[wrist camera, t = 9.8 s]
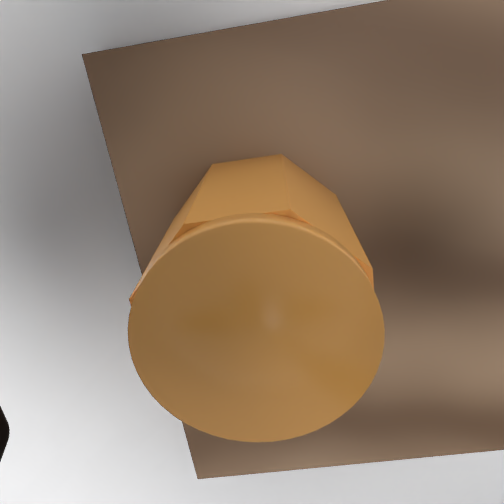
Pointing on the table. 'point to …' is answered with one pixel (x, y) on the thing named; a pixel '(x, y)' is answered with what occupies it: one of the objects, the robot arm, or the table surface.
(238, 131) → the wooden board with peg
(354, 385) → the orange wooden cylinder
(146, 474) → the table surface
